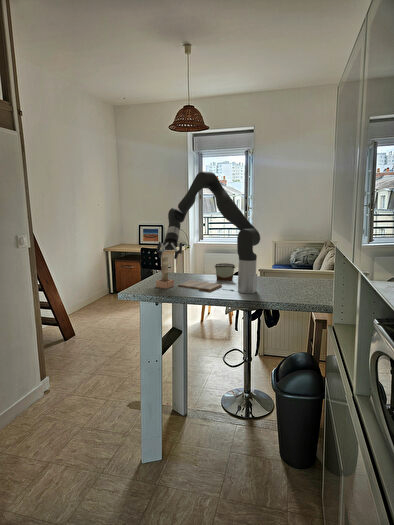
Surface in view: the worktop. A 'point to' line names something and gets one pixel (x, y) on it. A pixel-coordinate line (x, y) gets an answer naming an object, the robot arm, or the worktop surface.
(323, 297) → the worktop surface
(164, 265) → the birch dowel
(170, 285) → the terracotta cup
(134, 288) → the worktop surface
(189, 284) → the walnut board
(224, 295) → the worktop surface
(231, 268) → the food container
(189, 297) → the worktop surface
